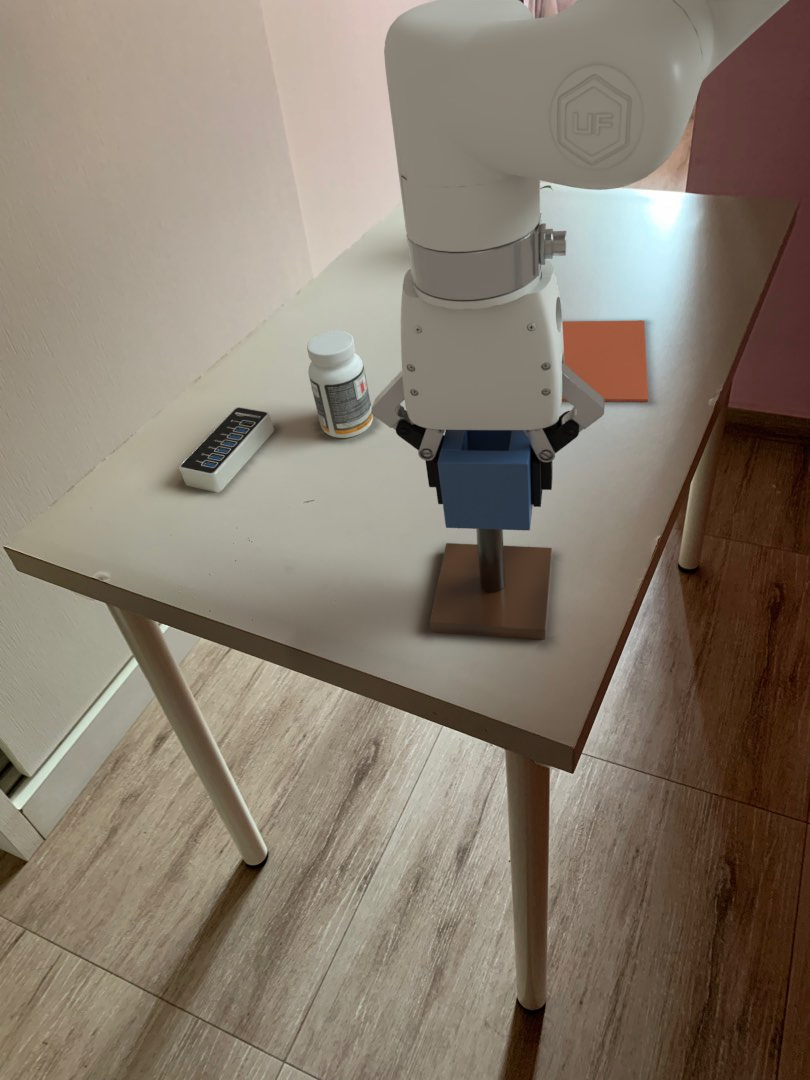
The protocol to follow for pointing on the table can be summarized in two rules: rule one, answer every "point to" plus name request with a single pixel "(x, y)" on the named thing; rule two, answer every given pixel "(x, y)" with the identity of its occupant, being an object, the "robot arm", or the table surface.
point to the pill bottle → (339, 384)
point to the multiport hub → (226, 449)
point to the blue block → (486, 479)
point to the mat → (608, 357)
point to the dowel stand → (493, 589)
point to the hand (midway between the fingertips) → (491, 491)
